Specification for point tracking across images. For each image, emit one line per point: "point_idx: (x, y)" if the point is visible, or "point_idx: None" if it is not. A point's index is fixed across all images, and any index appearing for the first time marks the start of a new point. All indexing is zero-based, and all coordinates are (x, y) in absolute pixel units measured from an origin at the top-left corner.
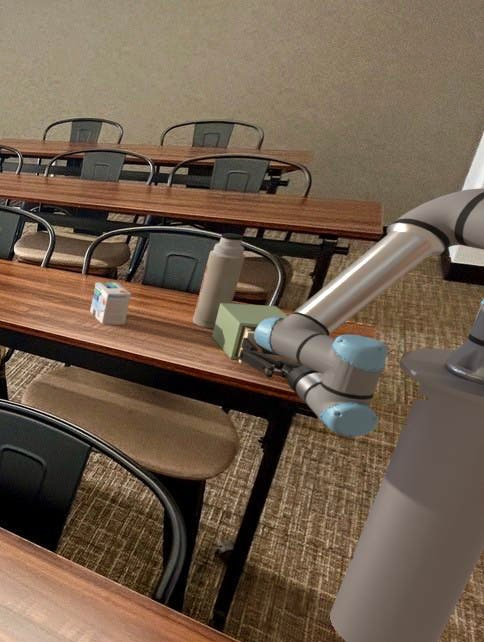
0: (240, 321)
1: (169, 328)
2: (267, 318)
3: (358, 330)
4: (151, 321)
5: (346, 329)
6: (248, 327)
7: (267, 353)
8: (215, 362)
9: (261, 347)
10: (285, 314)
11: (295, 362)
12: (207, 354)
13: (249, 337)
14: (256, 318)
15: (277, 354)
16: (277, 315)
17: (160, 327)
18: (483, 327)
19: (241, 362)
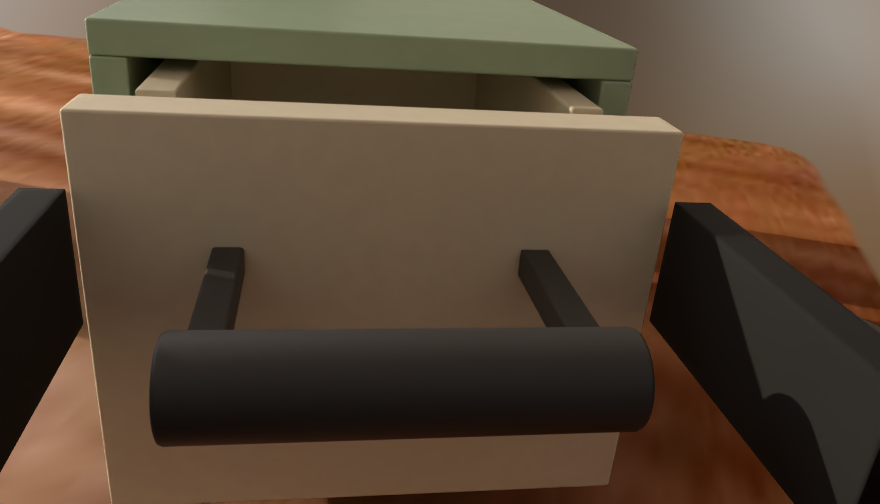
0: (118, 11)
1: (59, 188)
2: (403, 11)
3: (795, 162)
4: (16, 158)
5: (762, 160)
6: (185, 73)
7: (209, 439)
8: (20, 466)
9: (191, 322)
10: (540, 5)
11: (605, 433)
12: (58, 368)
13: (98, 180)
14: (313, 7)
15: (356, 438)
16: (488, 5)
17: (14, 185)
18: None
19: (118, 498)
